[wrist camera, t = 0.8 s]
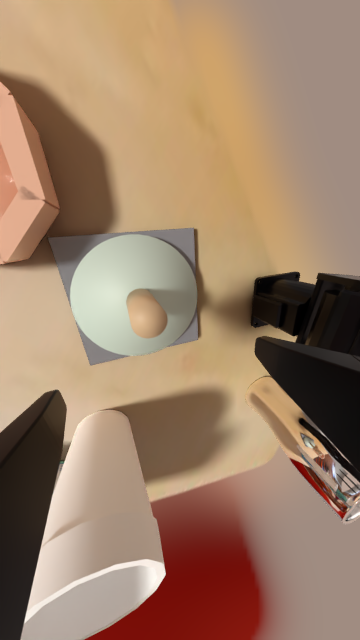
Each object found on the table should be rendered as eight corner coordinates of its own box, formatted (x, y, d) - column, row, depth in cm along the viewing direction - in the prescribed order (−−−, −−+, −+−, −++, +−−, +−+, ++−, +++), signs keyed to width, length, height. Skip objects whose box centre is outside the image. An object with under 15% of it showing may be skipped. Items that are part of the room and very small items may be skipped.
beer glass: (243, 380, 28) (356, 498, 15) (280, 369, 30) (408, 465, 17) (240, 412, 31) (333, 536, 18) (274, 400, 33) (380, 504, 20)
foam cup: (40, 433, 21) (-49, 666, 9) (111, 386, 21) (109, 549, 10) (97, 465, 25) (83, 649, 14) (154, 425, 26) (186, 569, 14)
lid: (191, 230, 17) (224, 224, 12) (196, 338, 22) (221, 367, 17) (51, 240, 14) (17, 238, 9) (91, 363, 19) (83, 407, 14)
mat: (191, 228, 18) (193, 227, 17) (196, 337, 23) (198, 339, 22) (50, 237, 15) (47, 237, 14) (90, 362, 19) (90, 365, 19)
